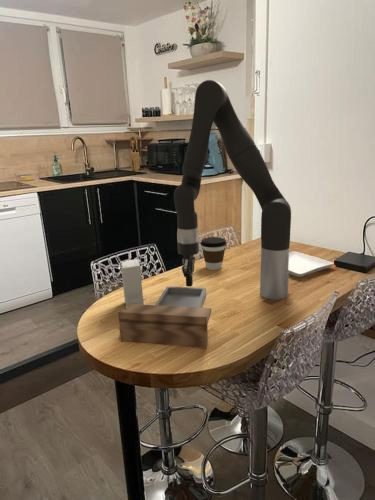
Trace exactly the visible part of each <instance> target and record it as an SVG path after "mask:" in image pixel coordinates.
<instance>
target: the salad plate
mask: <svg viewBox="0 0 375 500" xmlns="http://www.w3.org/2000/svg"><path fill="white" fill-rule="evenodd" d="M334 264H335V263H334V262H332V261H329V260H326V259H324V258H320V257H317V256H314V255H309V254H306V253H302V252H299V251H295V250H294V251H289V267H288V270H289V276H294V277H299V278H301V277H304V276H307V275H312V274H313V273H316V272H319V271H323V270H325V269H327V268H330V267H332V266H333V265H334Z"/></svg>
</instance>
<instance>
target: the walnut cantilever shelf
mask: <svg viewBox="0 0 375 500" xmlns="http://www.w3.org/2000/svg"><path fill="white" fill-rule="evenodd" d="M117 314H118V315H117V316H118V317H117V318H118V326H119V337H120V338H119V339H120V342H121V343H133V344H146V345H160V346H173V347H189V348H198V349H199V348H201V349H207V348H208V345H209V343H208V341H209V340H208V339H209V337H208V335H209V334H208V324H209V320H210V317H211V315H212V308H210V307H208V308H207V307H202V308H196V307H177V306H159V305H154V304H144V305H140V304H130V305H129V306H128V307H127V308H125V309H119V310H118V311H117Z"/></svg>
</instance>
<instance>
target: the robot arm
mask: <svg viewBox="0 0 375 500" xmlns="http://www.w3.org/2000/svg"><path fill="white" fill-rule="evenodd" d="M193 105H194V106H193V115H192V123H191V129H190V134H189V139H188V144H187V145H186V146H187V147H186V151H185V154H184V160H183V163H182V167H181V173H182V174H183V175H182V180H181V184H179V185H177V186H176V187H175V190H174V193H173V203H174V206H175V207H174V208H175V212H176V216H177V217H176V218H177V219H176V220H177V221H176V222H177V223H176V224H177V232H176V236H177V237H176V239H177V241H176V242H177V253H178V255H180V256H181V255H182V257H183V258H182V259H181V260H182V261H181V263H182V266H181V270H182V274H183V277H184V278H185V286H186V287H191V288H192V287H193V284H194V283H193V282H194V280H193V276H194V272H195V263H196V256H195V255H197V254H199V252H200V248H199V247H200V245H199V244H200V242H199V241H200V239H199V236H200V235H199V229H198V228H199V226H198V213H197V212H196V211H195V210H196V209H195V201H196V200H197V199H198V196H199V194H200V190H201V184H202V177H203V176H202V175H203V172H204V169H205V165H206V162H207V158H208V152H209V144H210V143H209V142H210V138H211V137H210V136H211V135H210V134H211V130H212V126H213V124H214V125H215V126H216V128H217V131H218V132H219V135H220V138H221V141H222V144H223V147H224V149H225V153H226V154H227V157H228V158H229V160H230V162H231V164H232V165H233V167H234V169H235V171H236V172H237V173H238V175H239V176H240V178H241V179H242V180H243V182H244V183H245V184H246V185H247V186H248V187H249V188H250V189H251V191H252V193H253V194H254V196H255V197H256V199H257V202H258V204H259V207H260V209H261V214H260V215H261V218H260V247H261V248H260V279H259V281H260V282H259V286H260V287H259V295H260V296H261V297H262V298H265V299H268V300H282V299H283V300H284V299H288V297H289V277H290V274H289V270H288V267H289V252H290V244H291V225H292V207H291V205H290V204H289V201H287V199H286V198H285V196H284V195H283V194H282V192H281V191H280V190H279V188H278V187H277V185H276V184H275V182H274V180H273V178H272V176H271V174H270V173H271V172H270V171H269V168H268V166H267V164H266V162H265V160H264V158H263V156H262V153H261V152H260V150H259V148H258V147H257V144H256V142H255V141H254V139H253V138H252V136H251V134H250V133H249V132H248V130H247V129H246V127H245V126H244V125H243V123H242V122H241V120H240V118H239V117H238V115H237V113H236V111H235V108H234V107H233V105H232V102H231V100H230V97H229V94H228V92H227V90H226V88H225V86H224V85H222V83H220V82H218V81H216V80H213V79H207V80H203V81H202V82H201V83H200V84H199V85H198V86H197V88H196V90H195V93H194V103H193Z"/></svg>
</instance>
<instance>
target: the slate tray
mask: <svg viewBox="0 0 375 500" xmlns="http://www.w3.org/2000/svg"><path fill="white" fill-rule="evenodd" d="M206 298H207V288H206V287H192V286H191V287H189V286H186V287H185V286H168V285H167V286H166V287H165V288H164V290H163V292H162V294H161V295H160V297H159V298H158V300H157V301H156V303H155V305H159V306H177V307H196V308H204V303H205V301H206Z"/></svg>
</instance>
